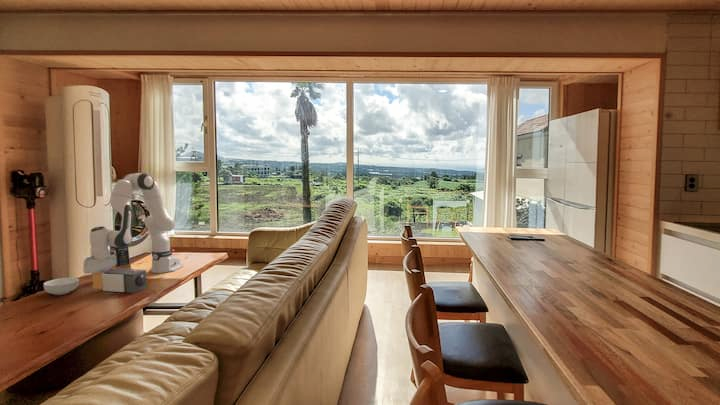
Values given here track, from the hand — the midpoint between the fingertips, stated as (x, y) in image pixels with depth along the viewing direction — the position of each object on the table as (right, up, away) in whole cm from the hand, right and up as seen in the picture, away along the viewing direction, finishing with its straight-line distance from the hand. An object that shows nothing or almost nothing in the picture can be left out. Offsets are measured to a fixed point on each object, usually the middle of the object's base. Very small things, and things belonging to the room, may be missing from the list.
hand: (101, 277), depth 244 cm
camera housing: (+14, -8, +2) cm, 16 cm away
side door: (+7, -8, -3) cm, 11 cm away
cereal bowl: (-20, -9, -5) cm, 22 cm away
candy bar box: (-11, -6, +19) cm, 22 cm away
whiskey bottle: (-13, -3, +42) cm, 44 cm away
